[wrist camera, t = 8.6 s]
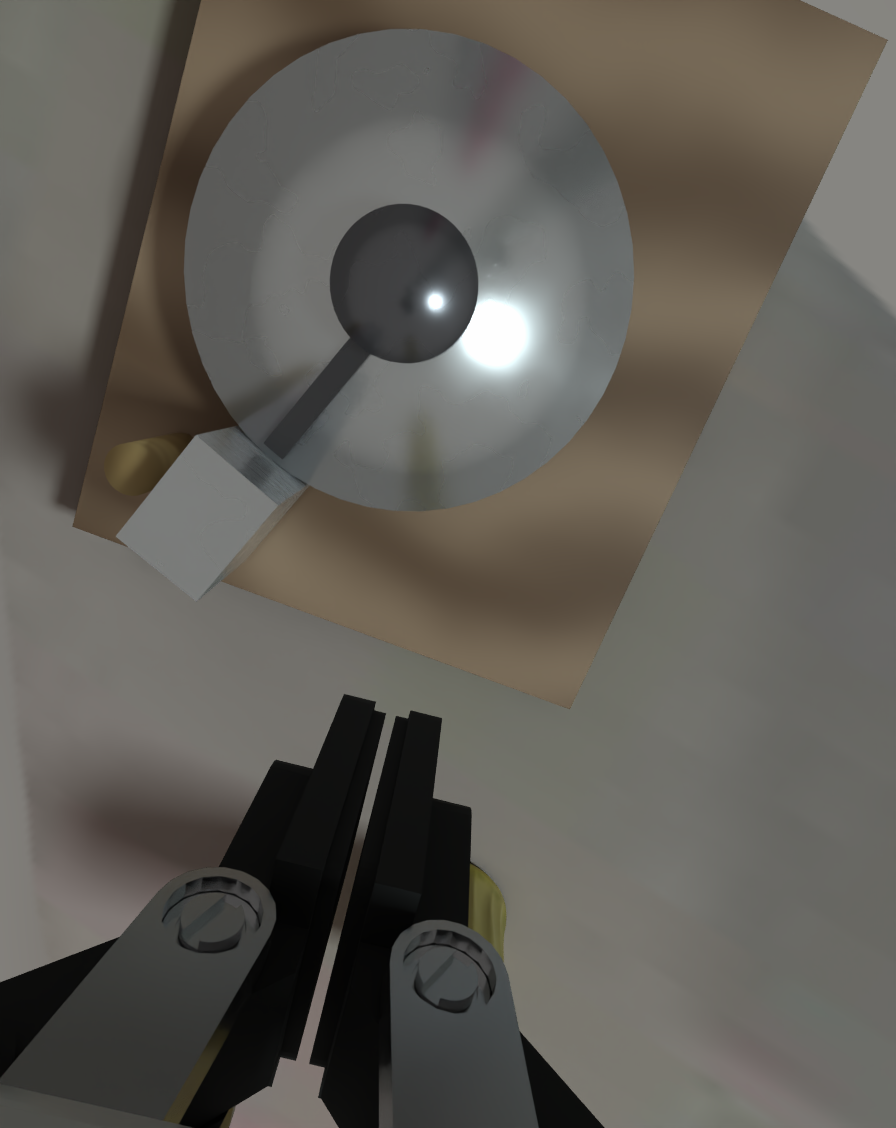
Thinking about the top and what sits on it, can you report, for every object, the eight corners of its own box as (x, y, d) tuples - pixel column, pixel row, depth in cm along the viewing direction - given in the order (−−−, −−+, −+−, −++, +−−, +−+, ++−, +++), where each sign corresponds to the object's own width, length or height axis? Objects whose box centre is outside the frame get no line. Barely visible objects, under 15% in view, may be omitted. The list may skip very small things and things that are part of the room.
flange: (389, -62, 21) (366, -186, 16) (713, 277, 23) (775, 253, 18) (54, 402, 25) (-43, 409, 20) (358, 655, 27) (335, 714, 22)
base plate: (275, -203, 21) (211, -392, 16) (861, 61, 23) (980, -34, 17) (93, 518, 28) (3, 552, 22) (564, 692, 29) (586, 764, 24)
